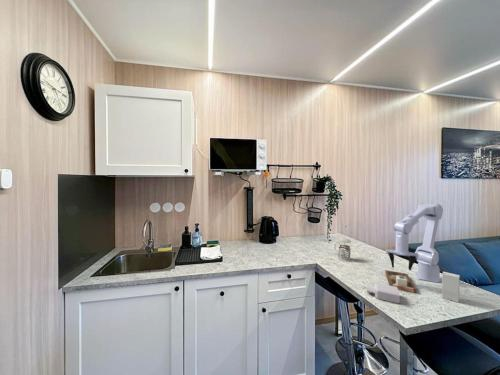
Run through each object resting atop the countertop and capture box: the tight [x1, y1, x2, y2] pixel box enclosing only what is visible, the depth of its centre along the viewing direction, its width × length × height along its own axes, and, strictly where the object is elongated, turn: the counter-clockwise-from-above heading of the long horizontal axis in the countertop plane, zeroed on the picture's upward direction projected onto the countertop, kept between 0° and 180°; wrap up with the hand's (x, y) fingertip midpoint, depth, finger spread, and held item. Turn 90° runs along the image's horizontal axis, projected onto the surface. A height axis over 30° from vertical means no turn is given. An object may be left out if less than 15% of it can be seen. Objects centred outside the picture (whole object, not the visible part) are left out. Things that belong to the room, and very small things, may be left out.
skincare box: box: [441, 271, 461, 303], centre depth 102 cm, size 6×4×12 cm
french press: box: [334, 224, 353, 263], centre depth 153 cm, size 10×12×25 cm
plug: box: [395, 275, 408, 287], centre depth 113 cm, size 4×5×6 cm
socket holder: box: [384, 269, 417, 294], centre depth 119 cm, size 11×21×2 cm, turn 154°
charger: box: [362, 282, 401, 304], centre depth 104 cm, size 5×9×15 cm
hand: (401, 268), depth 117 cm, fingers open, 7 cm apart
